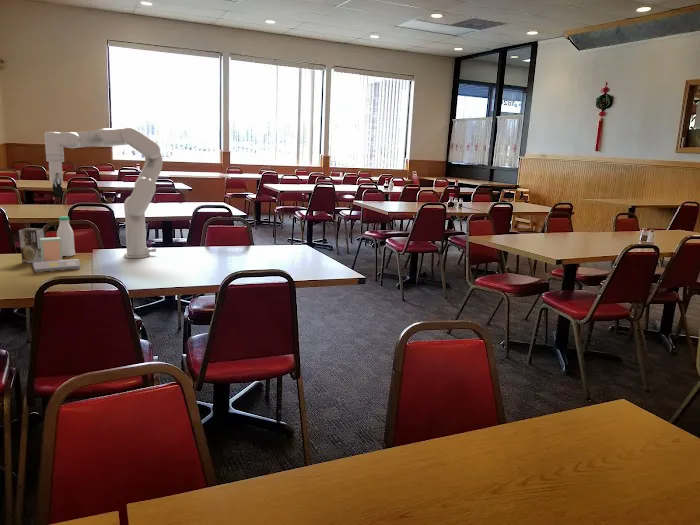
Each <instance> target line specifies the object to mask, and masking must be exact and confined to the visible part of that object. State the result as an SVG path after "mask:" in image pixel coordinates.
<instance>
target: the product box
mask: <svg viewBox="0 0 700 525" xmlns="http://www.w3.org/2000/svg"><path fill="white" fill-rule="evenodd" d="M40 245H41V257H42V262H46V261H60V260H63V256H62V248H61V238H60V237H57V236H56V237H55V236H54V237H45V238H40Z"/></svg>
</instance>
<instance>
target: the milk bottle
mask: <svg viewBox="0 0 700 525" xmlns="http://www.w3.org/2000/svg"><path fill="white" fill-rule="evenodd" d="M58 220H59V221H58V222H59V225H58V227H57V231H56V237H60V238H61V248H62V257H63V256H66V257H72V256H73V255H74V256H75V255H76V249H75V248H76V246H75V236H74V231H73V228H72V226H71V225H70V217H69V216H66V215H65V216H59V217H58ZM74 256H73V257H74Z"/></svg>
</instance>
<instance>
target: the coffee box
mask: <svg viewBox="0 0 700 525" xmlns="http://www.w3.org/2000/svg"><path fill="white" fill-rule="evenodd" d="M45 229H46V228H40V227H38V228H37V227H35V228H34V227H26V228H21V229H19V230H18V234H19V242H20V243H19V245H20V253H21V262H27V263H26V264H33V263H34V262H42V257H41V245H40V238H46V231H45Z"/></svg>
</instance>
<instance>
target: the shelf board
mask: <svg viewBox="0 0 700 525" xmlns="http://www.w3.org/2000/svg"><path fill="white" fill-rule="evenodd" d="M32 269H33V271H34V273H35V272H37V273H42V272H41V271H50V272H53V271H52V270H62V271H64V270H63V269H74V270H80V269H81V264H80V258H79V259H77V258H76V259H62V260H60V261H46V262H34V263H32Z"/></svg>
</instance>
